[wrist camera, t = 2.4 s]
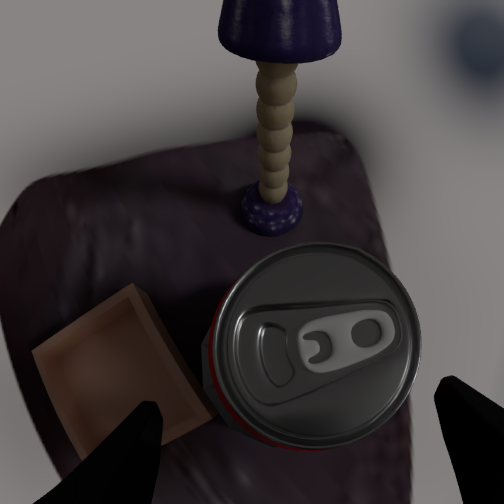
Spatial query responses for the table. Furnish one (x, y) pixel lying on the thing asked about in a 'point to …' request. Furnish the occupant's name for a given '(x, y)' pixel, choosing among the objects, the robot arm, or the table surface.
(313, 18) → the toy lamp
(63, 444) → the table surface
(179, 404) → the terracotta tray
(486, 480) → the robot arm
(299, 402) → the beverage can
